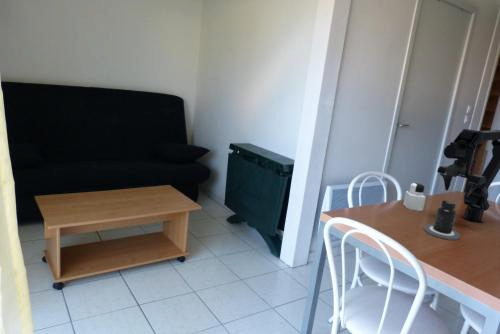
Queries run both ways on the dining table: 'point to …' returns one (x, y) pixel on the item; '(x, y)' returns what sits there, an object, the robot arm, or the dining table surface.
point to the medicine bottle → (415, 197)
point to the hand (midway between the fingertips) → (456, 193)
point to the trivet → (431, 231)
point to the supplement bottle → (445, 217)
